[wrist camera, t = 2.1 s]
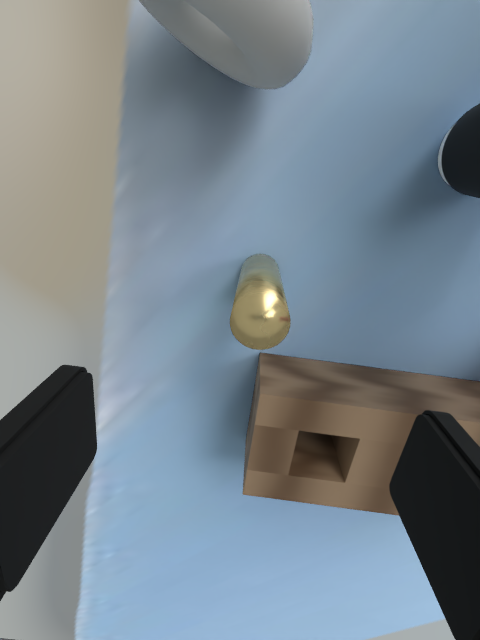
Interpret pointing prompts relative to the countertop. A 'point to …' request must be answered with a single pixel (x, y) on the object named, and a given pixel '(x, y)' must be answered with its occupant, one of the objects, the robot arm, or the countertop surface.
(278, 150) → the countertop surface
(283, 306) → the brass peg
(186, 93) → the countertop surface
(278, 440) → the hole block
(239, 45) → the donut
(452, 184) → the dixie cup
